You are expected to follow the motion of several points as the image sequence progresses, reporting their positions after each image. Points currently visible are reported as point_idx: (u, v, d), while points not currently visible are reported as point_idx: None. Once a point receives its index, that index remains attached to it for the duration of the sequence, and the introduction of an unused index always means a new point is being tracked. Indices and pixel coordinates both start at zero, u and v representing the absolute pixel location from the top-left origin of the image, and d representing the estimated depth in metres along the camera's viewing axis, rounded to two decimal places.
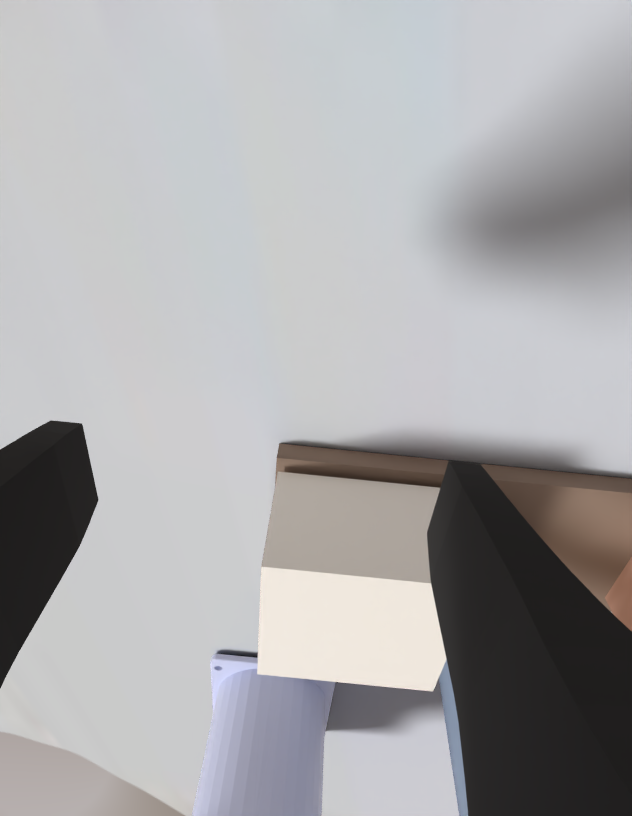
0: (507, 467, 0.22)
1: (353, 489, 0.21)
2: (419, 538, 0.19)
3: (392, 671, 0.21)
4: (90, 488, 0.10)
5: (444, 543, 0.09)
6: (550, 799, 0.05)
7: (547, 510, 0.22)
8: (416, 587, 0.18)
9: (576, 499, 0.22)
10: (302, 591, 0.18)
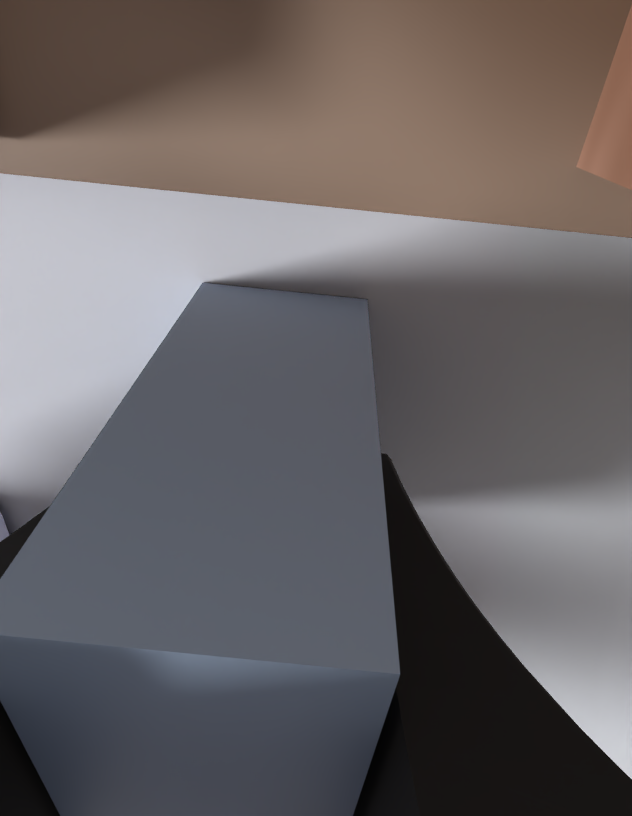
0: None
1: None
2: None
3: None
4: None
5: None
6: (380, 783, 0.05)
7: None
8: None
9: None
10: None
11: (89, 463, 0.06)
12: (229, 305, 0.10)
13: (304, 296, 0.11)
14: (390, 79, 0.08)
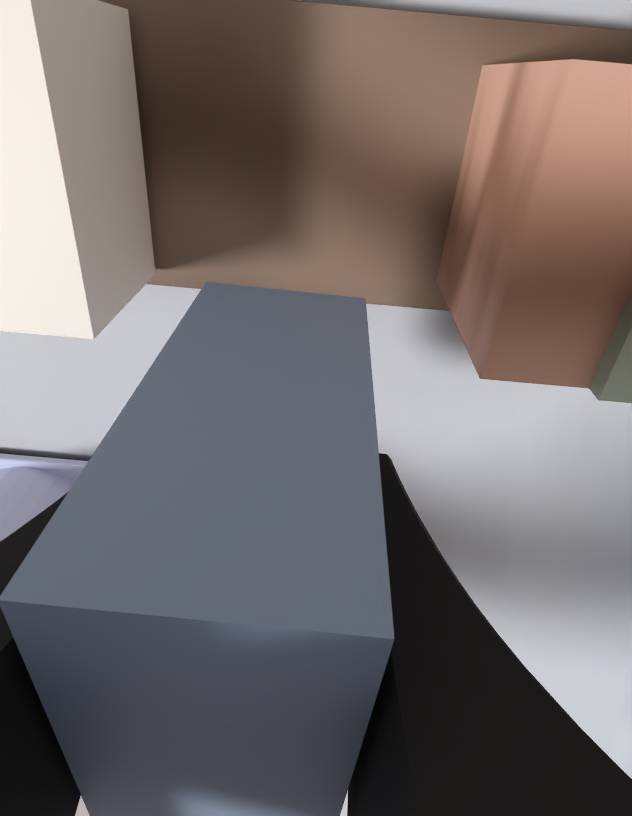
0: None
1: None
2: None
3: (5, 286, 0.12)
4: None
5: None
6: (380, 783, 0.05)
7: (302, 69, 0.14)
8: None
9: (342, 36, 0.13)
10: None
11: (104, 451, 0.06)
12: (232, 303, 0.10)
13: (305, 295, 0.11)
14: (344, 245, 0.16)
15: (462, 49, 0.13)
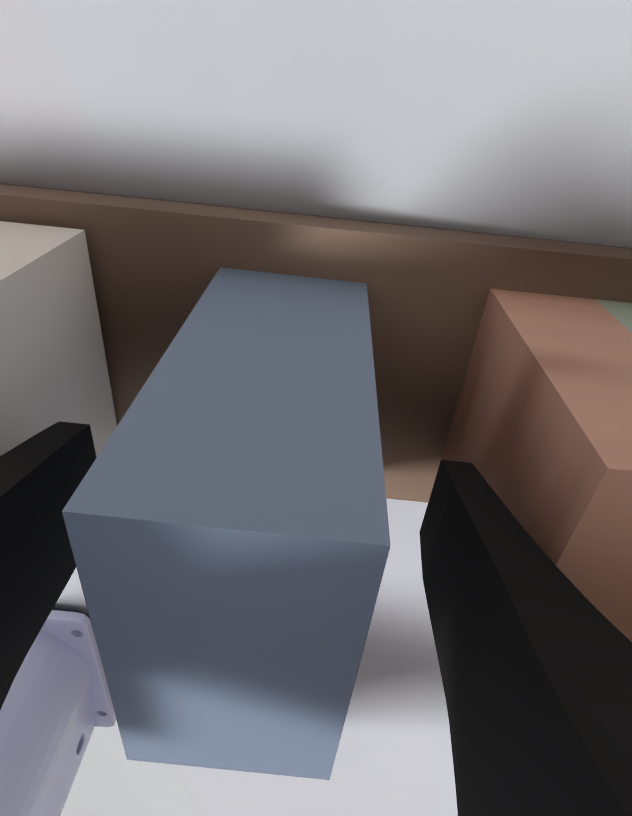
0: (210, 206, 0.12)
1: None
2: None
3: None
4: None
5: (436, 542, 0.09)
6: (536, 797, 0.05)
7: None
8: None
9: (330, 257, 0.12)
10: None
11: (139, 404, 0.07)
12: (245, 286, 0.11)
13: (311, 279, 0.12)
14: None
15: (467, 273, 0.12)
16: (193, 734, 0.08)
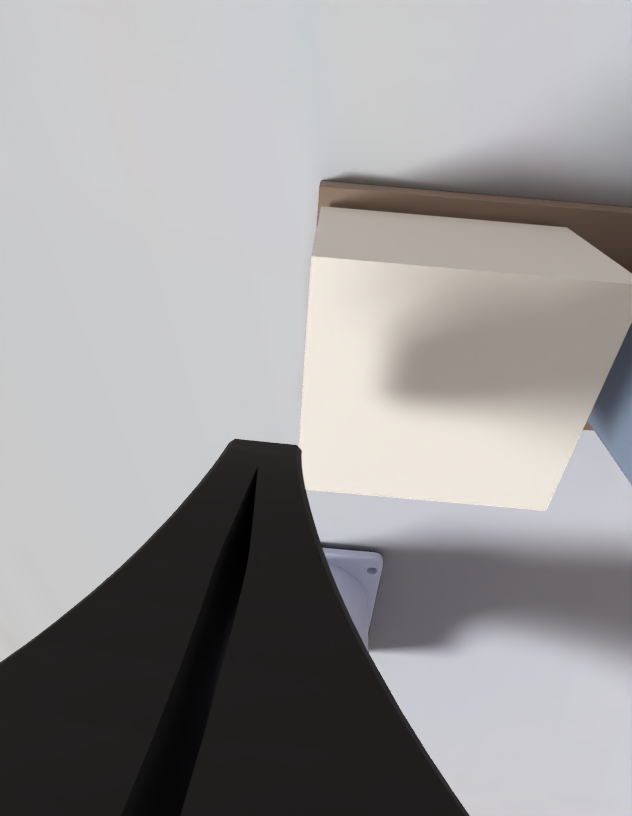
0: None
1: (431, 220, 0.15)
2: (540, 251, 0.13)
3: (492, 474, 0.14)
4: None
5: None
6: None
7: None
8: (552, 289, 0.11)
9: None
10: (372, 310, 0.12)
11: None
12: None
13: None
14: None
15: None
16: None
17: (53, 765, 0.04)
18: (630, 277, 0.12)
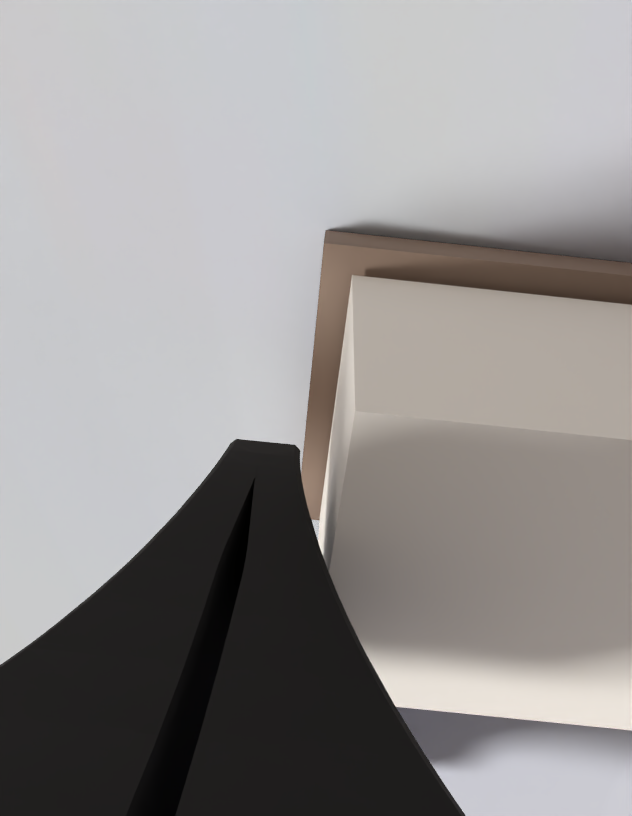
0: None
1: (518, 303, 0.10)
2: None
3: (608, 694, 0.10)
4: None
5: None
6: None
7: None
8: None
9: None
10: (453, 492, 0.07)
11: None
12: None
13: None
14: None
15: None
16: None
17: (57, 766, 0.04)
18: None
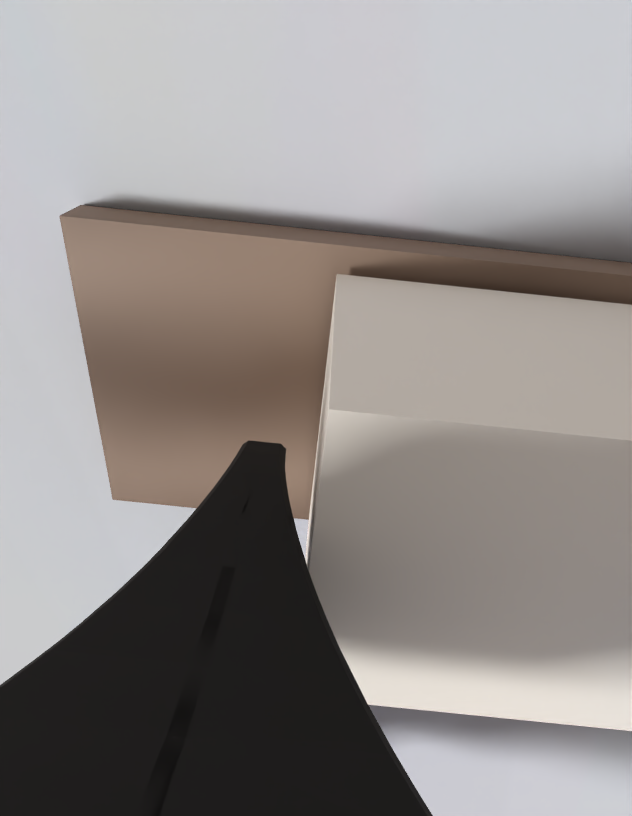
0: (539, 254, 0.11)
1: (502, 302, 0.10)
2: None
3: (592, 694, 0.09)
4: None
5: None
6: None
7: None
8: None
9: None
10: (430, 491, 0.07)
11: None
12: None
13: None
14: None
15: None
16: None
17: (87, 769, 0.04)
18: None
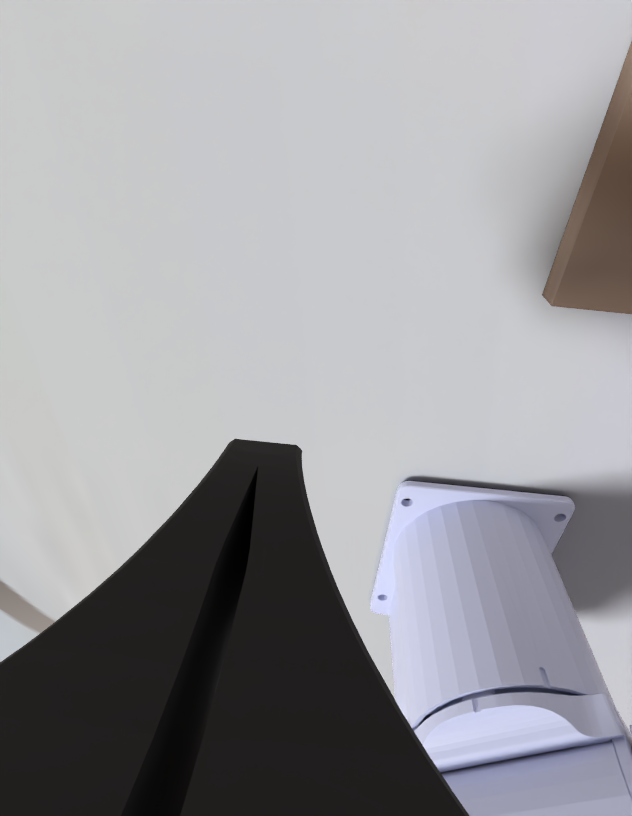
0: None
1: None
2: None
3: None
4: None
5: None
6: None
7: None
8: None
9: None
10: None
11: None
12: None
13: None
14: None
15: None
16: None
17: (53, 765, 0.04)
18: None
